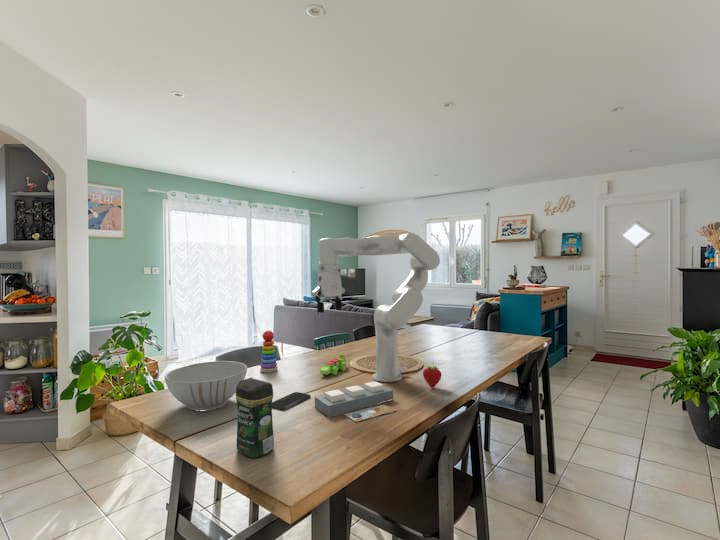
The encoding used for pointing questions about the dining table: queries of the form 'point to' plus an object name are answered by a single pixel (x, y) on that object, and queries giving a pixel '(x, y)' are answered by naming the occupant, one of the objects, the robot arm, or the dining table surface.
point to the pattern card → (361, 413)
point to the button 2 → (373, 386)
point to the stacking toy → (268, 354)
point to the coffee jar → (254, 417)
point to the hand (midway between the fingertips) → (329, 311)
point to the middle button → (354, 391)
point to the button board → (352, 402)
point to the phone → (289, 401)
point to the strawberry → (432, 375)
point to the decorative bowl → (205, 383)
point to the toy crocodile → (334, 366)
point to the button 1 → (334, 395)
